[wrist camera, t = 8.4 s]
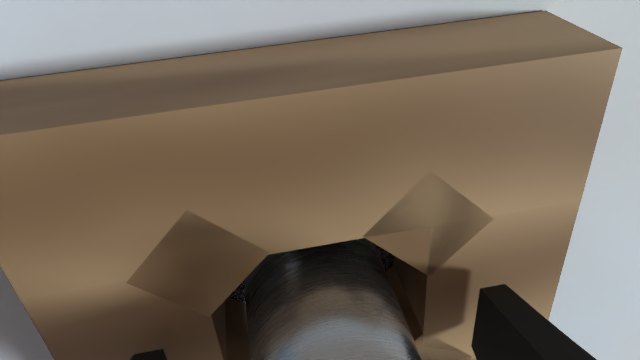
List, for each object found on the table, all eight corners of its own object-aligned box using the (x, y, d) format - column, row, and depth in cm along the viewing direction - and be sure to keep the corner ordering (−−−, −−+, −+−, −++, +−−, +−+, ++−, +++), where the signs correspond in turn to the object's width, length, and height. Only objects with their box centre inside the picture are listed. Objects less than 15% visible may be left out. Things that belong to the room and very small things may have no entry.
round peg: (370, 283, 15) (466, 545, 10) (252, 305, 15) (278, 592, 9) (368, 186, 13) (487, 444, 8) (231, 208, 13) (248, 499, 7)
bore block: (485, 348, 18) (522, 415, 16) (145, 417, 17) (136, 500, 15) (545, 10, 11) (622, 47, 9) (-11, 82, 10) (-71, 144, 8)
